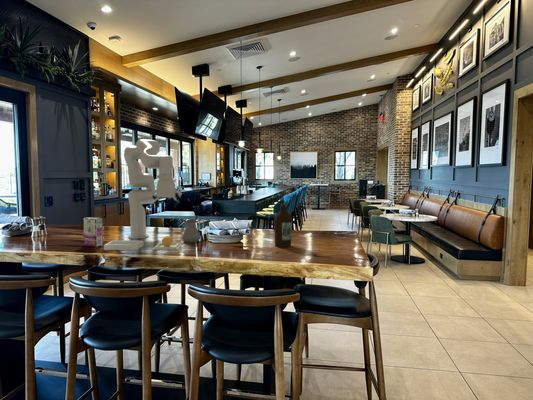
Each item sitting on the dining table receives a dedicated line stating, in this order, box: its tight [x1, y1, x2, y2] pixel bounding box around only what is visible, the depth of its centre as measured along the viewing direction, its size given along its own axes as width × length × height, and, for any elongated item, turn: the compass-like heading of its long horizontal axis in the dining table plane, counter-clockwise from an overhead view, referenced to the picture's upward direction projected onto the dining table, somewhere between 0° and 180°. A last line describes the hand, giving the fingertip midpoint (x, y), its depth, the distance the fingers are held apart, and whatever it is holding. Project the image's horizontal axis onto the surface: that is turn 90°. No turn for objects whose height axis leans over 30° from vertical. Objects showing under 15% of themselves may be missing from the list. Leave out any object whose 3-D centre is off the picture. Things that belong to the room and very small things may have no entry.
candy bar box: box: [83, 216, 104, 248], centre depth 202 cm, size 11×5×16 cm, turn 62°
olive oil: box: [273, 203, 293, 249], centre depth 202 cm, size 11×11×25 cm
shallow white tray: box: [103, 239, 145, 251], centre depth 197 cm, size 12×18×3 cm, turn 94°
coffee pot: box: [181, 214, 201, 244], centre depth 220 cm, size 21×12×15 cm, turn 176°
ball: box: [161, 235, 174, 247], centre depth 198 cm, size 6×6×6 cm
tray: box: [151, 242, 182, 251], centre depth 199 cm, size 13×14×1 cm
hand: (166, 207), depth 197 cm, fingers open, 9 cm apart
